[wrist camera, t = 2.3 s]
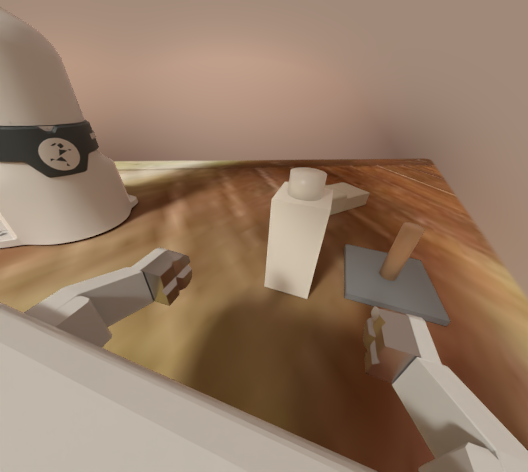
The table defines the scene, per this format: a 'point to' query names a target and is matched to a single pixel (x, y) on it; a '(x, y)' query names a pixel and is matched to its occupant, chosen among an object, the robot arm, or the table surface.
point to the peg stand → (393, 278)
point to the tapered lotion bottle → (297, 231)
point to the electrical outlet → (346, 197)
